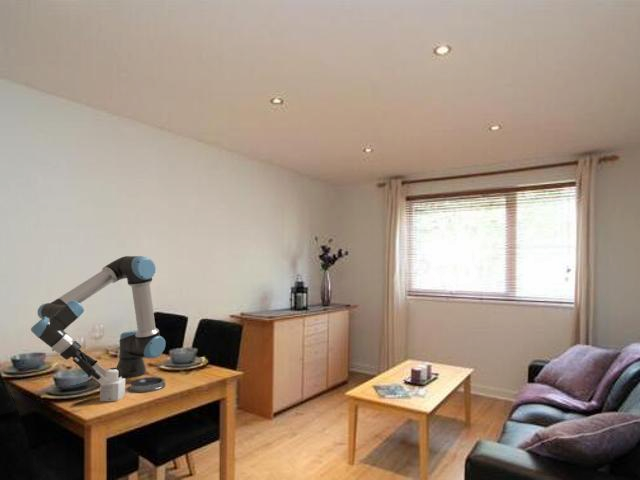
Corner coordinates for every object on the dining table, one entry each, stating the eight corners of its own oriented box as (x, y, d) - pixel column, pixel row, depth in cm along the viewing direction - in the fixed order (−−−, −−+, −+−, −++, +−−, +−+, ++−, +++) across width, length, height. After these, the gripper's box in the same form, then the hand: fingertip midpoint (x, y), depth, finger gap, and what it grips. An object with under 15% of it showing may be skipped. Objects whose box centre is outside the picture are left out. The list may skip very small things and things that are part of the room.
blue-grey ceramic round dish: (122, 390, 184) (122, 385, 184) (143, 380, 200) (143, 375, 200) (152, 393, 181) (153, 387, 182) (171, 383, 197) (172, 377, 197)
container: (107, 395, 178) (108, 366, 179) (125, 395, 178) (126, 366, 179) (99, 401, 170) (100, 371, 171) (117, 401, 171) (119, 371, 172)
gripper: (61, 348, 175) (98, 377, 182) (56, 360, 153) (97, 394, 160) (76, 335, 178) (111, 365, 185) (72, 345, 156) (113, 379, 163)
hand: (105, 378), depth 172 cm, fingers open, 13 cm apart
